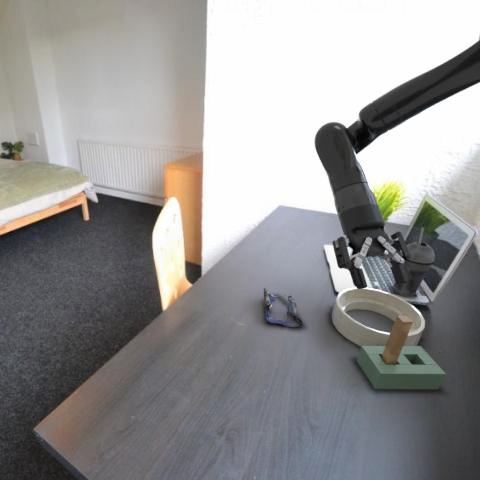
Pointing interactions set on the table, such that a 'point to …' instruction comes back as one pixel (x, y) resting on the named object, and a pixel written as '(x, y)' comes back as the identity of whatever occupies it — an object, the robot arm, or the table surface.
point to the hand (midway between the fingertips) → (382, 286)
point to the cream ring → (377, 303)
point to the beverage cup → (416, 267)
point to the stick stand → (401, 369)
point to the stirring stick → (396, 340)
